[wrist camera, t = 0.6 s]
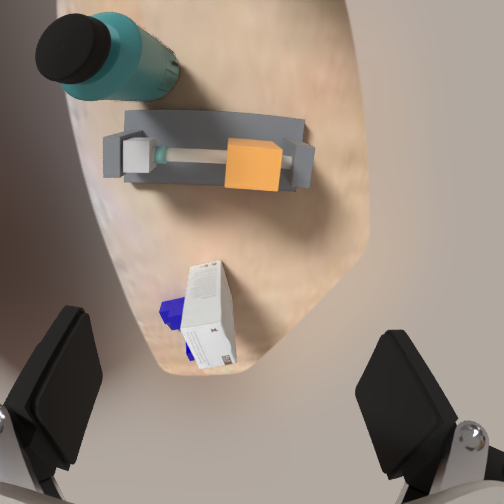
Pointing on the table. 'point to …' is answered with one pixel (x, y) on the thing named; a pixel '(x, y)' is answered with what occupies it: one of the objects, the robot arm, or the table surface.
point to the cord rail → (200, 146)
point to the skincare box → (209, 316)
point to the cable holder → (174, 317)
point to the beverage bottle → (106, 58)
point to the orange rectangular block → (253, 164)
